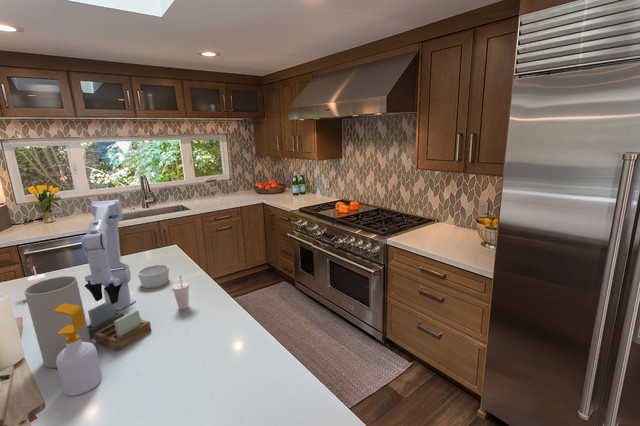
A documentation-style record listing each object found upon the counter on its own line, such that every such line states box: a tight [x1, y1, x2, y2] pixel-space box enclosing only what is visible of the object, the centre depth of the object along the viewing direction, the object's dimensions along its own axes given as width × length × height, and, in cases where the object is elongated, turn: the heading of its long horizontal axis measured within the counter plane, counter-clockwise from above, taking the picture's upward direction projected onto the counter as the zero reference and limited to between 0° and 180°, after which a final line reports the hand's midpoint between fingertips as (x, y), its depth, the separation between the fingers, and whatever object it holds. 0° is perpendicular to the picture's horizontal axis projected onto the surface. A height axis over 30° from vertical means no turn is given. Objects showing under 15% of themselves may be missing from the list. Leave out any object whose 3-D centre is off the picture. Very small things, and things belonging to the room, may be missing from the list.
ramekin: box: [137, 264, 170, 289], centre depth 157 cm, size 13×13×7 cm
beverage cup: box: [27, 265, 46, 286], centre depth 148 cm, size 6×6×14 cm
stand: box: [87, 310, 125, 340], centre depth 122 cm, size 4×12×3 cm, turn 155°
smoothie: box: [171, 275, 190, 311], centre depth 133 cm, size 6×6×14 cm
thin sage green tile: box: [114, 309, 141, 339], centre depth 114 cm, size 1×8×9 cm, turn 155°
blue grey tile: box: [87, 301, 116, 328], centre depth 121 cm, size 1×8×9 cm, turn 155°
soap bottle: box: [55, 303, 103, 397], centre depth 91 cm, size 9×9×25 cm
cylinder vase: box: [23, 275, 92, 369], centre depth 104 cm, size 12×12×25 cm
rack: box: [93, 318, 152, 352], centre depth 116 cm, size 12×12×4 cm
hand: (106, 301), depth 120 cm, fingers open, 7 cm apart
